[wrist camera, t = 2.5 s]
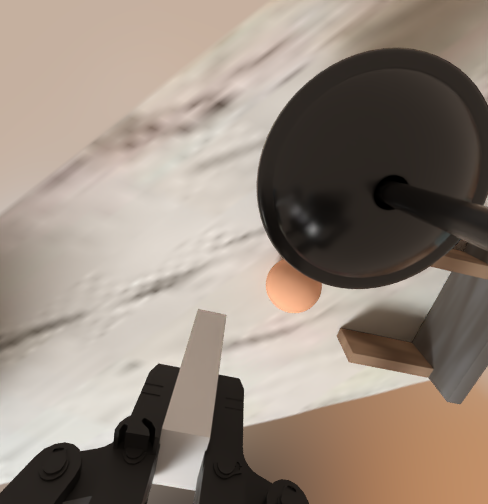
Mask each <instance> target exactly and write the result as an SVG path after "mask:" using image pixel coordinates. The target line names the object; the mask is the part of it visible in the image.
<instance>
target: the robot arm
mask: <svg viewBox="0 0 488 504" xmlns="http://www.w3.org/2000/svg"><path fill="white" fill-rule="evenodd" d="M225 322H226V315H224V314H219V313H214V312H210V311H205V310H200V309H198V311H197V315H196V318H195V321H194V325H193V328H192V331H191V335H190V338H189V341H188V344H187V348H186V351H185V354H184V358H183V361H182V364H181V367H180V368H179V367H173V366H168V365H163V364H158V365H156V366H155V367H154V368H153V369H152V370H151V371H150V372H149V375H148V377H147V379H146V382H145V385H144V386H143V389H142V391H141V394H140V396H139V398H138V400H137V403H136V405H135V407H134V410H133V412H132V414H131V416H129V417H127V418H125V419H124V420H123V421H121V422H120V423H119V425H118V426H117V427H116V429H115V433H114V442H113V443H111V444H109V445H107V446H105V447H101V448H98V449H92V450H85V451H80V450H79V449H78V448H77V447H76V446H75V445H74V444H70V443H58V444H54V445H52V446H50V447H47V448H45V449H44V450H42V451H41V452H40V453H39V454H38V455H36V456H35V457H34V458H33V459H32V460H31V461H30V462H29V463H28V465H27V466H26V467H25V468H24V469H23V470H22V471H21V472H20V473H19V474H18V475H17V476H16V477H15V478H14V479H13V480H12V481H11V482H10V483H9V485H8V486H7V487H6V488H5V489H4V490H3V491H2V492H1V493H0V504H147V501H148V496H149V492H150V489H151V485H152V483H153V484H159V485H165V486H171V487H177V488H183V489H190V490H195V497H194V503H193V504H309V502H308V500H307V498H306V496H305V494H304V492H303V491H302V490H301V489H300V488H299V487H298V486H297V485H296V484H295V483H293V482H291V481H289V480H283V479H281V480H278V481H275V482H274V483H273V484H272V483H270V482H269V481H267V480H266V479H264V478H262V477H260V476H259V475H257V474H256V473H255V472H253V471H252V470H251V468H250V467H249V466H248V464H247V463H246V461H245V458H244V455H243V447H242V446H243V408H244V403H243V402H244V388H243V386H242V383H241V381H240V379H239V378H234V377H228V376H223V375H219V367H220V360H221V352H222V345H223V337H224V330H225Z"/></svg>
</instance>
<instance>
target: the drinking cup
mask: <svg viewBox="0 0 488 504" xmlns="http://www.w3.org/2000/svg"><path fill="white" fill-rule="evenodd" d="M487 195H488V105H487V103H486V101H485V99H484V97H483V95H482V94H481V92H480V91H479V89H478V88H477V86H476V85H475V84H474V83H473V82H472V80H471V79H470V78H469V77H468V76H467V75H466V74H465V73H463V72H462V71H461V70H460V69H459V68H457V67H456V66H454V65H453V64H451V63H450V62H448V61H446V60H444V59H442V58H440V57H438V56H436V55H433V54H430V53H427V52H424V51H420V50H415V49H408V48H383V49H377V50H371V51H367V52H363V53H359V54H356V55H353V56H351V57H348V58H346V59H343V60H341V61H339V62H337V63H335V64H333V65H332V66H330V67H328V68H327V69H325V70H324V71H322V72H320V73H319V74H318V75H316V76H315V77H314V78H312V79H311V80H310V81H309V82H307V83H306V84H305V85H304V86H303V87H302V88H301V89H300V90H299V91H298V92H297V93H296V94H295V95H294V96H293V97H292V98H291V100H290V101H289V102H288V103H287V104H286V106H285V107H284V108H283V110H282V111H281V112H280V114H279V116H278V117H277V119H276V121H275V122H274V124H273V126H272V128H271V130H270V132H269V134H268V136H267V138H266V141H265V144H264V146H263V149H262V153H261V157H260V161H259V166H258V172H257V201H258V208H259V212H260V217H261V220H262V223H263V226H264V229H265V231H266V233H267V235H268V237H269V239H270V241H271V243H272V244H273V246H274V247H275V249H276V250H277V251H278V253H279V254H280V255H281V256H282V257H283V258H284V260H285V261H286V262H288V263H289V264H290V265H291V266H292V267H293V268H295V269H296V270H297V271H299V272H300V273H302V274H304V275H305V276H307V277H309V278H311V279H313V280H315V281H318V282H320V283H323V284H326V285H330V286H334V287H340V288H347V289H368V288H376V287H381V286H386V285H390V284H393V283H397V282H399V281H402V280H405V279H407V278H409V277H412V276H414V275H416V274H418V273H420V272H421V271H423V270H425V269H427V268H428V267H430V266H431V265H433V264H434V263H436V262H437V261H438V260H439V259H441V258H442V257H443V256H444V255H446V254H447V253H448V252H449V251H450V250H451V249H452V248H453V247H454V246H455V245H456V244H457V243H458V242H459V241H460V240H461V239H462V240H464V241H467V242H469V243H471V244H473V245H475V246H477V247H480V248H482V249H484V250H486V251H488V207H486V206H483V205H484V203H485V200H486V198H487Z"/></svg>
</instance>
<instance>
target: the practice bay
mask: <svg viewBox="0 0 488 504" xmlns="http://www.w3.org/2000/svg"><path fill="white" fill-rule="evenodd" d="M431 267H435V268H439V269H444V270H448V271H452V272H451V274H450V276H449V278H448V279H447V281H446V283H445V285H444V286H443V288H442V290H441V292H440V294H439V295H438V297H437V299H436V301H435V303H434V304H433V306H432V308H431V310H430V312H429V313H428V315H427V317H426V319H425V320H424V322H423V324H422V326H421V328H420V329H419V331H418V333H417V335H416V337H415V338H414V340H413V342H412V343H411V342H406V341H401V340H397V339H392V338H387V337H382V336H377V335H372V334H367V333H363V332H358V331H353V330H348V329H343V328H340V330H339V333H338V335H337V337H338V340H339V342H340V344H341V346H342V348H343V350H344V353H345V355H346V357H347V359H348V361H349V362H351V363H356V364H361V365H366V366H372V367H377V368H382V369H387V370H392V371H397V372H402V373H407V374H412V375H417V376H423V377H428V378H429V379H430V380H431V382H432V383H433V384H434V385H435V387H436V388H437V389H438V390H439V392H440V393H441V395H442V396H443V397H444V398H445V400H446V401H447V402H452V403H457V404H461V403H462V401H463V400H464V399H465V397H466V396H467V394H468V393H469V392H470V390H471V389H472V387H473V386H474V384H475V383H476V382H477V380H478V379H479V377H480V376H481V374H482V373H483V372H484V370H485V369H486V367H487V366H488V251H486V250H484V249H482V248H480V247H477V246H475V245H473V244H471V243H469V242H468V243H467V245H466V247H465V249H464V251H460V250H455V249H451V250H450V251H449V252H448V253H447V254H446V255H444V256H443V257H442V258H441V259H439V260H438V261H437V262H436V263H434V264H433V265H431Z"/></svg>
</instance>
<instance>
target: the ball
mask: <svg viewBox="0 0 488 504" xmlns="http://www.w3.org/2000/svg"><path fill="white" fill-rule="evenodd" d="M321 289H322V283H320V282H318V281H315V280H313V279H311V278H309V277H307V276H305V275H304V274H302V273H300V272H299V271H297V270H296V269H295V268H293V267H292V266H291V265H290V264H289V263H288V262H286V261H285V260H281V261H279V262H278V263H276V264H275V265H274V266H273V267H272V269H271V270H270V271H269V273H268V276H267V280H266V290H267V294H268V296H269V298H270V300H271V301H272V303H273V304H274V305H275V306H276V307H278V308H279V309H281V310H283V311H285V312H289V313H300V312H303V311H306V310H308V309H310V308H311V307H312V306H313V305H314V304H315V303H316V302H317V300H318V299H319V297H320V294H321Z"/></svg>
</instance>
